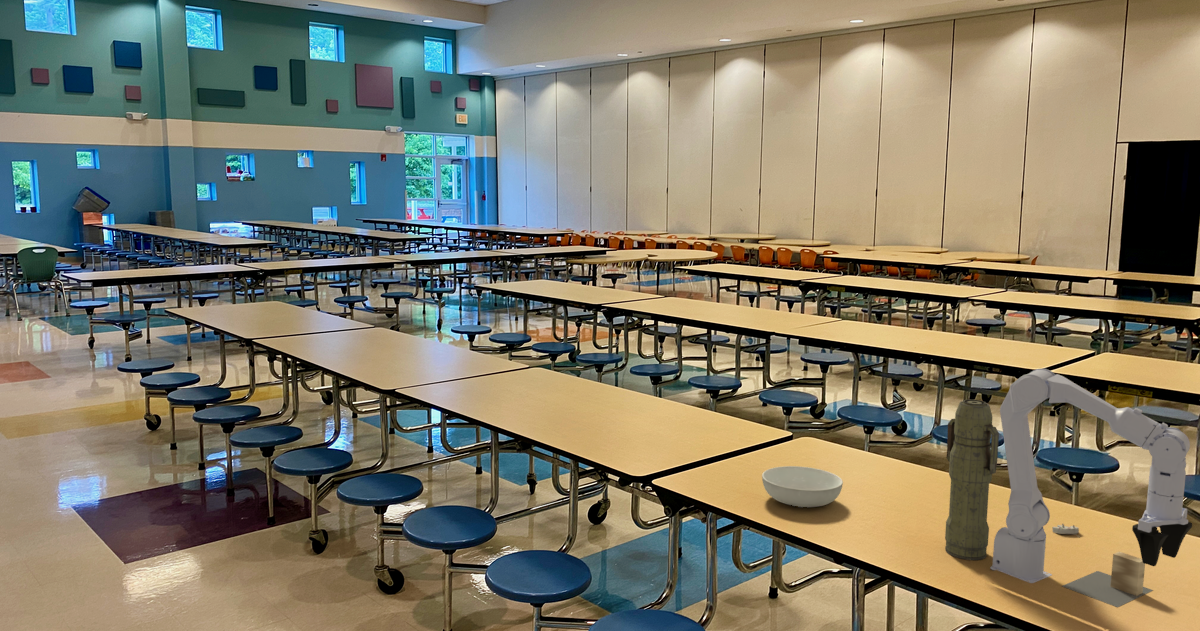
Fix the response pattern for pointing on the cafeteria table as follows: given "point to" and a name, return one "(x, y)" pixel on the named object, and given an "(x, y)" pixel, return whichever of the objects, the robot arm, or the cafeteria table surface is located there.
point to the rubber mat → (1102, 589)
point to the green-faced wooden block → (1127, 573)
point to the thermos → (970, 479)
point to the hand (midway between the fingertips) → (1159, 560)
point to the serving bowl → (802, 485)
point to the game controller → (1065, 529)
